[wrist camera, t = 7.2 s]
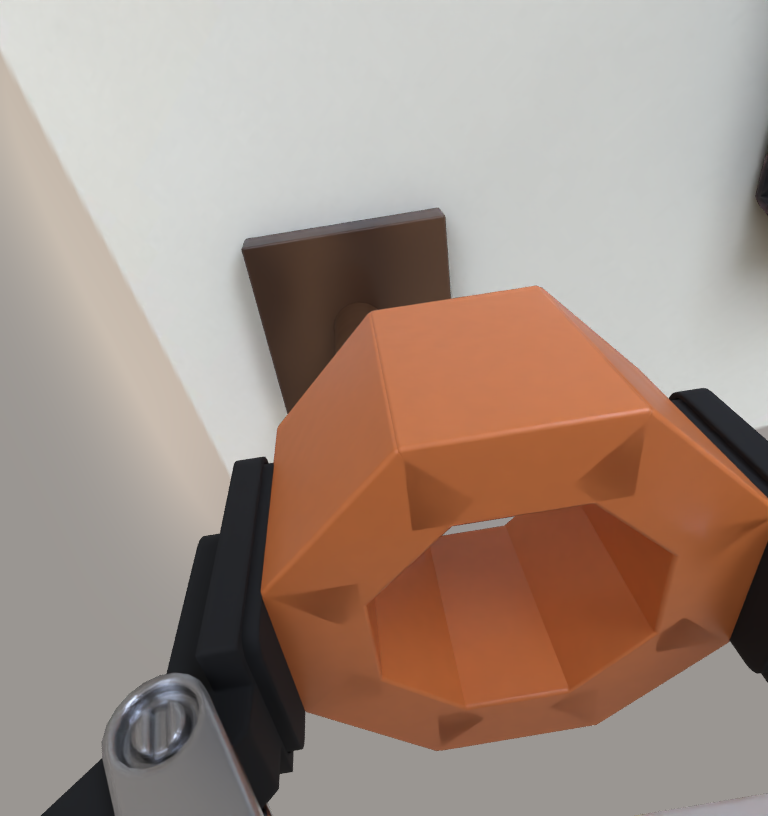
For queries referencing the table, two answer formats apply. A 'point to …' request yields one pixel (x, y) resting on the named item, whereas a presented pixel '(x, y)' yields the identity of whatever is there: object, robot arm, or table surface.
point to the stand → (340, 285)
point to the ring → (499, 546)
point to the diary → (763, 187)
